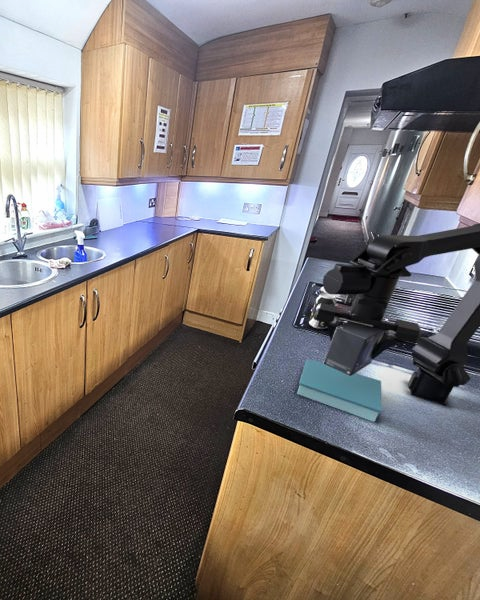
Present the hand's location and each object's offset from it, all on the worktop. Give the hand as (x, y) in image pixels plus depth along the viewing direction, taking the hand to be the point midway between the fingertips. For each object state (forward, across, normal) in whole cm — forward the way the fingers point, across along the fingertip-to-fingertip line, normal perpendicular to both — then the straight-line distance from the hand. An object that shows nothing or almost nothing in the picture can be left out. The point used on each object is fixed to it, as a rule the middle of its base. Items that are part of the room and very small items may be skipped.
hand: (351, 352), depth 79 cm
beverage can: (+13, +8, -40) cm, 43 cm away
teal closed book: (+12, 0, 0) cm, 12 cm away
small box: (+4, 0, 0) cm, 4 cm away
